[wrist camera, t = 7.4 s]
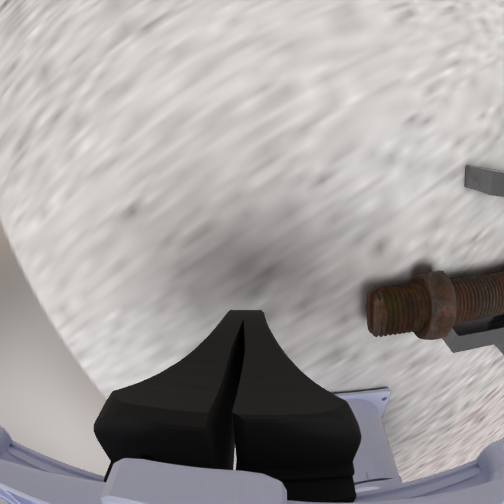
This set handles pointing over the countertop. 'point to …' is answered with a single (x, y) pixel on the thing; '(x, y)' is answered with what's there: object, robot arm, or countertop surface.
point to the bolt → (434, 304)
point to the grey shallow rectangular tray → (492, 328)
